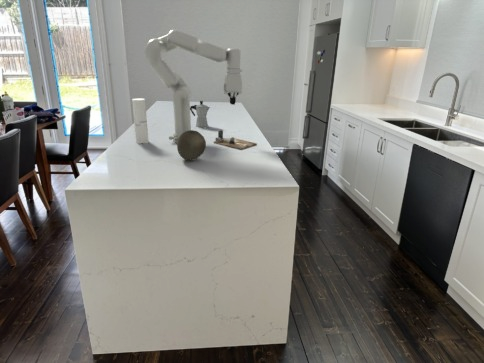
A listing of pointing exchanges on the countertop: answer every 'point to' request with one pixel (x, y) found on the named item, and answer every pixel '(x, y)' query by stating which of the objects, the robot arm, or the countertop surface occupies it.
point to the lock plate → (235, 143)
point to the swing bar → (220, 135)
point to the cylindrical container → (140, 120)
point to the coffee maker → (200, 114)
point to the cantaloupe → (191, 145)
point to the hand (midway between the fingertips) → (232, 104)
